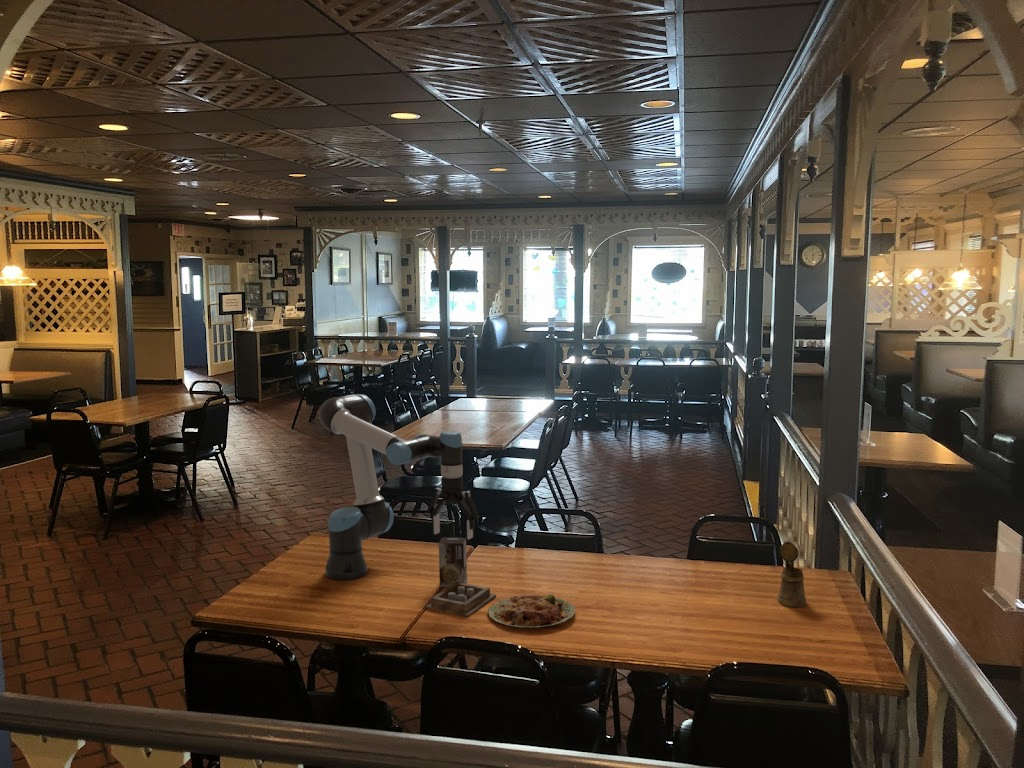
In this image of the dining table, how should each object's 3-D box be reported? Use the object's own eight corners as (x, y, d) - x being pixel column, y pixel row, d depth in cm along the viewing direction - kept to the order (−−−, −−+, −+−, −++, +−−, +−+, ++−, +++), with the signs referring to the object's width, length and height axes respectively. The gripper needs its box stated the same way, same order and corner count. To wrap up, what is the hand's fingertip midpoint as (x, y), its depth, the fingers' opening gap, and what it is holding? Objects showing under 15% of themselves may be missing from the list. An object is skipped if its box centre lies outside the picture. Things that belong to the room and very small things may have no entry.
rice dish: (476, 609, 260) (475, 593, 259) (551, 592, 271) (550, 577, 270) (509, 643, 235) (508, 626, 234) (591, 624, 245) (590, 607, 244)
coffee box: (467, 581, 281) (467, 537, 279) (464, 588, 275) (464, 543, 273) (442, 580, 282) (441, 536, 280) (438, 587, 276) (438, 542, 274)
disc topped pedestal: (799, 592, 269) (801, 541, 267) (809, 608, 256) (811, 554, 254) (772, 591, 270) (774, 540, 268) (780, 607, 257) (782, 553, 255)
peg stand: (425, 608, 257) (424, 597, 257) (455, 588, 274) (455, 578, 274) (467, 617, 250) (467, 605, 250) (496, 596, 267) (496, 586, 266)
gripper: (415, 475, 276) (417, 534, 279) (477, 481, 265) (479, 543, 267) (427, 470, 283) (429, 528, 285) (488, 477, 272) (489, 537, 274)
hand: (453, 535), depth 276 cm, fingers open, 13 cm apart
